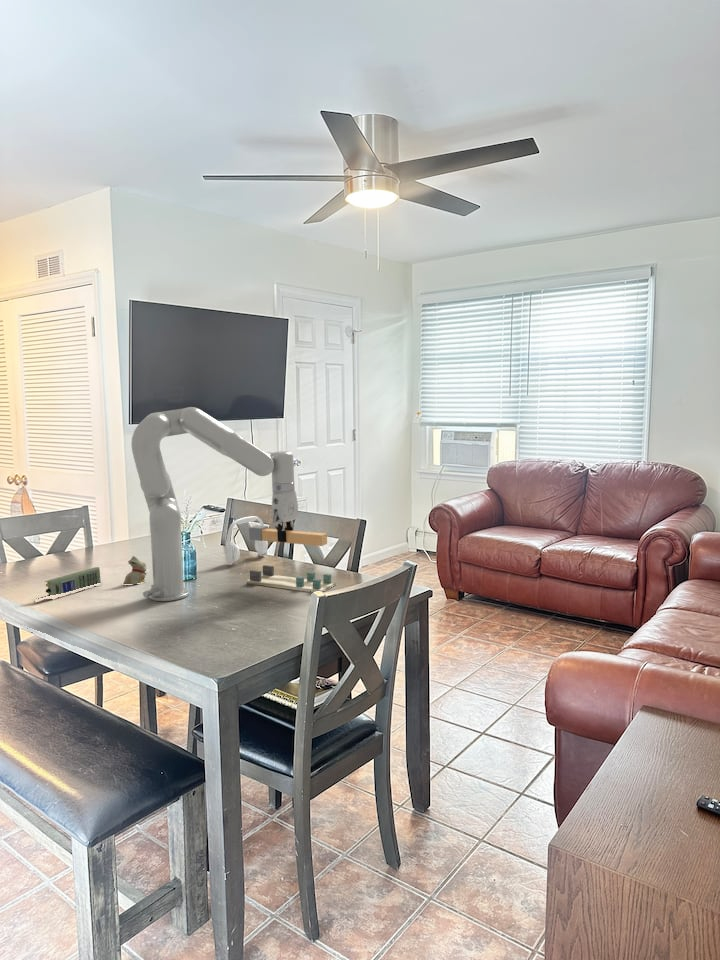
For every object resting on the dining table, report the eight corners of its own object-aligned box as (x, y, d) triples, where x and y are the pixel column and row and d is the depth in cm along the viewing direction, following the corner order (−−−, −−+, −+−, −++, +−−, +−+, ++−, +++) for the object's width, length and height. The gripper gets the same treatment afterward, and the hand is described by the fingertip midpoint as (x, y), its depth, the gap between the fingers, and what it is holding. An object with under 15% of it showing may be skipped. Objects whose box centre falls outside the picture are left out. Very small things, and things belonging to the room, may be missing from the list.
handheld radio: (102, 586, 231) (38, 605, 209) (96, 585, 233) (31, 604, 211) (100, 567, 230) (36, 585, 209) (94, 566, 232) (29, 584, 210)
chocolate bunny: (147, 584, 232) (145, 556, 230) (123, 586, 229) (121, 558, 228) (147, 580, 237) (145, 553, 236) (123, 582, 235) (122, 554, 233)
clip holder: (321, 593, 218) (321, 580, 217) (246, 583, 231) (246, 571, 231) (335, 585, 227) (335, 573, 226) (263, 576, 240) (262, 564, 239)
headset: (233, 567, 254) (232, 521, 252) (221, 564, 258) (220, 519, 256) (271, 557, 269) (270, 514, 267) (259, 554, 274) (258, 512, 272)
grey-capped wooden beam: (321, 546, 218) (320, 533, 217) (249, 539, 231) (249, 527, 231) (327, 543, 222) (327, 530, 221) (257, 537, 235) (256, 525, 234)
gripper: (279, 491, 216) (281, 546, 218) (305, 485, 230) (307, 536, 233) (260, 490, 219) (262, 544, 221) (287, 484, 234) (289, 535, 236)
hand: (285, 540), depth 227 cm, fingers closed on grey-capped wooden beam, 3 cm apart
